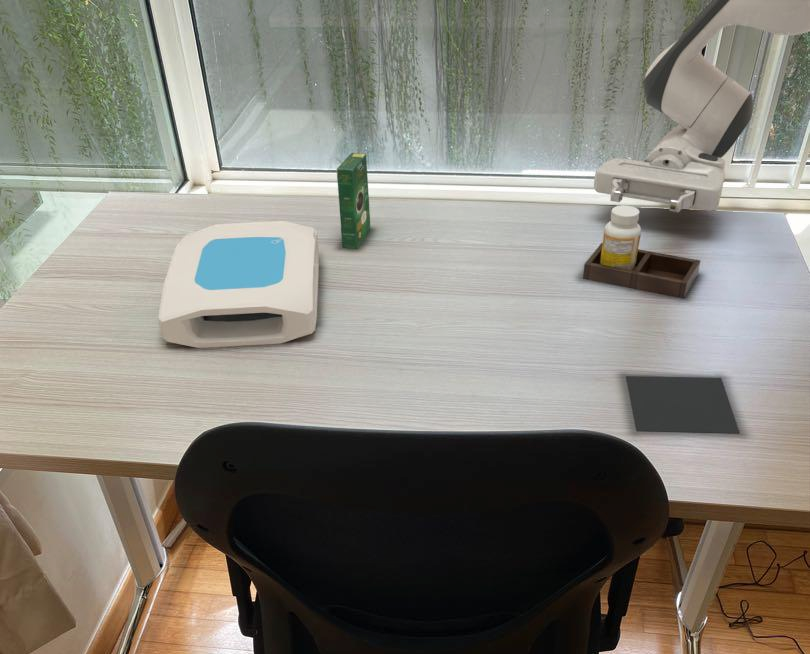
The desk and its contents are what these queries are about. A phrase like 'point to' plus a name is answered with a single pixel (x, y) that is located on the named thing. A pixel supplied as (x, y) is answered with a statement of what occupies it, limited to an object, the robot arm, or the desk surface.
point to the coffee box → (353, 200)
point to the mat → (680, 405)
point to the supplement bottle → (621, 238)
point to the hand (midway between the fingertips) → (644, 201)
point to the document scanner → (241, 284)
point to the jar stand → (647, 273)
